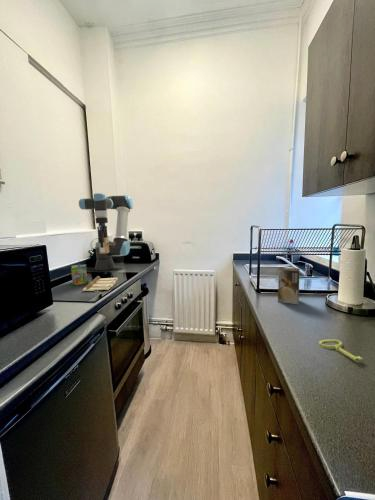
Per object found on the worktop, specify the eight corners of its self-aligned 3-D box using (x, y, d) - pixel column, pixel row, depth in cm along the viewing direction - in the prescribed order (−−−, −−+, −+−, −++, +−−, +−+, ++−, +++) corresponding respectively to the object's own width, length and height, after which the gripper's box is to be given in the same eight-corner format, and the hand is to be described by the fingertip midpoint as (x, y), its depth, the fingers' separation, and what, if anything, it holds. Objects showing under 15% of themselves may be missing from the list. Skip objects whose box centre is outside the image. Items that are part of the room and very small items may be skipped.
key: (357, 366, 63) (358, 359, 63) (315, 345, 74) (316, 339, 74) (370, 358, 67) (371, 352, 66) (328, 339, 77) (329, 333, 77)
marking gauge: (102, 252, 156) (100, 238, 155) (116, 251, 157) (115, 237, 155) (99, 253, 150) (97, 238, 149) (114, 253, 151) (113, 238, 149)
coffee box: (298, 300, 110) (300, 268, 107) (298, 304, 104) (300, 271, 101) (278, 297, 114) (279, 266, 111) (277, 301, 108) (278, 269, 106)
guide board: (95, 280, 153) (94, 275, 152) (117, 279, 154) (117, 274, 153) (82, 292, 131) (82, 286, 130) (109, 290, 132) (108, 284, 131)
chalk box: (73, 282, 151) (70, 260, 149) (87, 280, 155) (85, 259, 153) (72, 286, 143) (69, 263, 141) (88, 283, 147) (85, 261, 144)
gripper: (100, 217, 159) (102, 249, 162) (90, 217, 140) (94, 254, 143) (110, 217, 159) (113, 249, 163) (102, 217, 141) (106, 253, 144)
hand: (104, 251), depth 153 cm, fingers closed on marking gauge, 6 cm apart
